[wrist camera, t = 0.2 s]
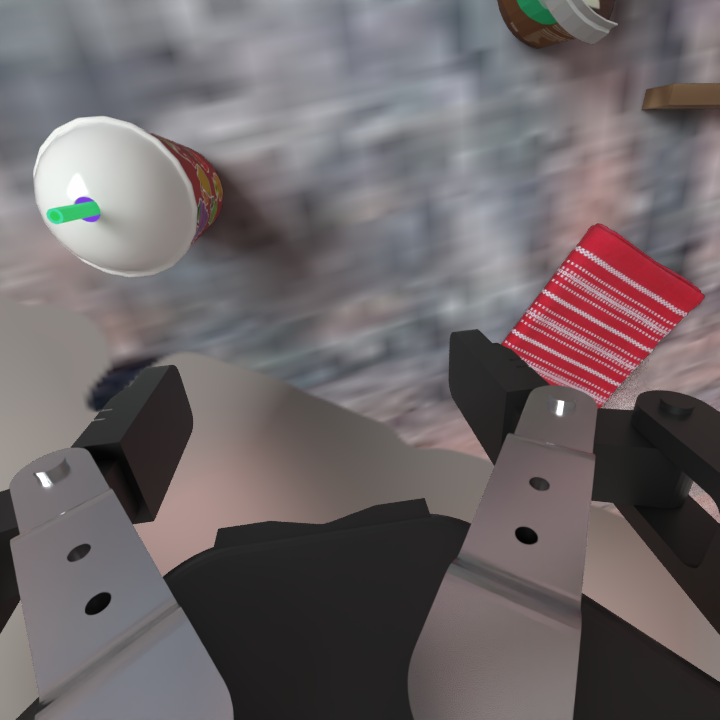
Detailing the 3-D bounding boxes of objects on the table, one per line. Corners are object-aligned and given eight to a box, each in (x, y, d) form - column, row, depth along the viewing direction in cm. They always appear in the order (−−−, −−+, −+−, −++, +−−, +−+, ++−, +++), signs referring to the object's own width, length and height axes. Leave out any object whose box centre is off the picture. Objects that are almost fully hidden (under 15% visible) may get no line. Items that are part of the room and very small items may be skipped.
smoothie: (132, 122, 32) (-88, 68, 14) (239, 148, 34) (163, 130, 16) (133, 228, 35) (-44, 293, 18) (230, 247, 37) (159, 324, 19)
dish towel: (694, 291, 46) (715, 298, 43) (558, 443, 53) (570, 456, 51) (591, 214, 40) (608, 217, 38) (457, 396, 48) (465, 408, 46)
